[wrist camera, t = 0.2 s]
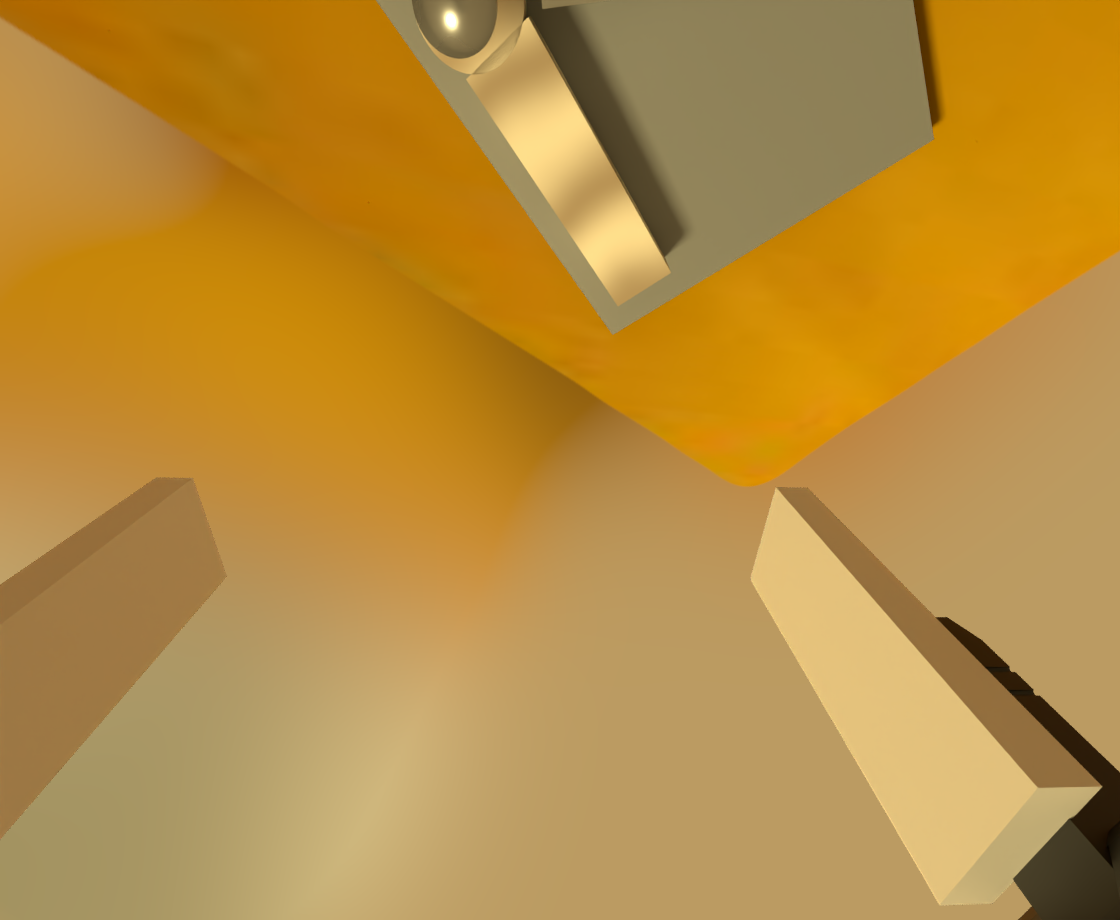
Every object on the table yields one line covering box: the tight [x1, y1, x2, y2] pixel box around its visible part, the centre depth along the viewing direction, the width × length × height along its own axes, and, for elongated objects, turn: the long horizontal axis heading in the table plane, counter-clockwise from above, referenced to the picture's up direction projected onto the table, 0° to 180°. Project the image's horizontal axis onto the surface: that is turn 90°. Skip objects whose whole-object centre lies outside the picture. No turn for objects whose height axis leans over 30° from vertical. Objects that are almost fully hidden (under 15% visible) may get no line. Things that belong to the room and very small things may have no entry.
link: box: [417, 0, 671, 306], centre depth 27 cm, size 20×5×2 cm, turn 36°
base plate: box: [376, 0, 934, 334], centre depth 26 cm, size 22×25×1 cm
